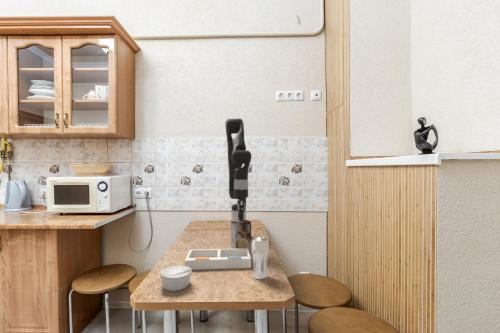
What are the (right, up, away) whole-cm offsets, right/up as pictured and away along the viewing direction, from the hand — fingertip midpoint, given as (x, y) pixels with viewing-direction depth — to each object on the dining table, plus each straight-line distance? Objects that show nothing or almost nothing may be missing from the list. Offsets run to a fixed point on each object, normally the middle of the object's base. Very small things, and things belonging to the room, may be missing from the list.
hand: (240, 219), depth 129 cm
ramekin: (-23, -17, -37) cm, 47 cm away
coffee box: (0, -17, 0) cm, 17 cm away
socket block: (-10, -17, -15) cm, 25 cm away
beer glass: (+9, -17, -30) cm, 35 cm away
